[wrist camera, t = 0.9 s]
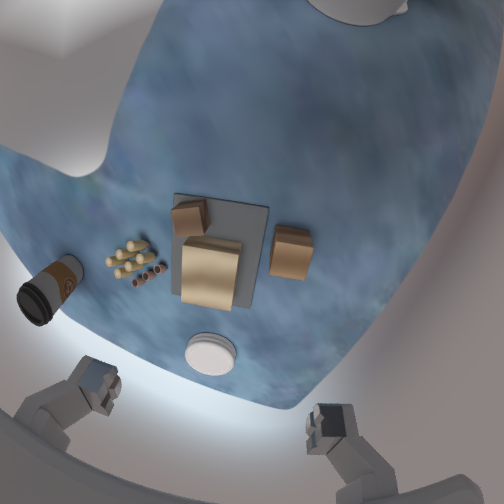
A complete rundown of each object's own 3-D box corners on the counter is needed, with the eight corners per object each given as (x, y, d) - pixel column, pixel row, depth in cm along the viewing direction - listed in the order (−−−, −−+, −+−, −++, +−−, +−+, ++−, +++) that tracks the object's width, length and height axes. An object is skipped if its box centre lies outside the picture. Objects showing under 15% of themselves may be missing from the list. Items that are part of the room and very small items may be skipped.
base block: (190, 234, 41) (182, 245, 38) (241, 242, 41) (238, 254, 38) (188, 287, 46) (181, 301, 42) (234, 296, 46) (230, 311, 42)
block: (180, 201, 39) (170, 210, 35) (205, 198, 38) (198, 206, 35) (185, 226, 41) (176, 237, 37) (210, 224, 40) (203, 235, 37)
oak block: (275, 224, 40) (276, 241, 35) (308, 230, 40) (313, 248, 35) (269, 254, 42) (269, 274, 37) (301, 260, 42) (304, 280, 37)
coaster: (230, 369, 56) (228, 381, 52) (186, 356, 55) (182, 368, 52) (241, 339, 51) (239, 352, 48) (191, 325, 51) (187, 337, 47)
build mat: (175, 193, 39) (173, 194, 38) (268, 207, 39) (268, 208, 38) (172, 291, 47) (171, 293, 46) (250, 306, 47) (249, 308, 46)
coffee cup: (90, 289, 49) (50, 335, 36) (61, 278, 49) (21, 318, 35) (86, 255, 45) (39, 298, 32) (56, 245, 45) (10, 282, 32)
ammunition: (102, 261, 40) (131, 298, 43) (129, 240, 38) (160, 281, 41) (115, 248, 44) (142, 283, 47) (142, 228, 42) (170, 266, 45)
